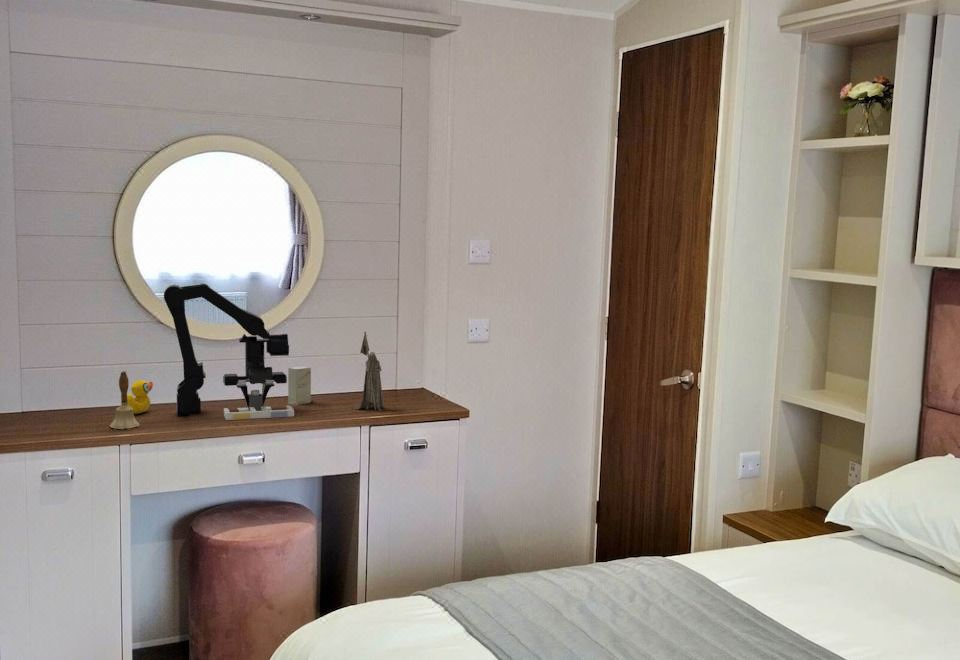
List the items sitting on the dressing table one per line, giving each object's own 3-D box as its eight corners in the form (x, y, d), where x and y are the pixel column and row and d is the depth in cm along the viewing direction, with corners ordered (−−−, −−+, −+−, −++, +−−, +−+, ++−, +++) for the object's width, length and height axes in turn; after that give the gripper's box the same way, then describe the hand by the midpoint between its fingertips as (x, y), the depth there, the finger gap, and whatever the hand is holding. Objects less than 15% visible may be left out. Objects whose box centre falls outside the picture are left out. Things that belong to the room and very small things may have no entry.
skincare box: (296, 406, 303) (296, 369, 301) (287, 404, 305) (287, 367, 304) (311, 404, 308) (311, 367, 306) (302, 402, 310) (302, 365, 309)
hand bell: (145, 426, 271) (144, 371, 269) (118, 431, 265) (116, 375, 263) (131, 422, 276) (129, 368, 274) (103, 426, 270) (102, 371, 268)
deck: (240, 414, 289) (240, 412, 289) (237, 410, 296) (237, 408, 296) (273, 412, 293) (273, 410, 293) (270, 408, 299) (270, 406, 299)
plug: (249, 411, 292) (249, 392, 291) (247, 408, 295) (247, 389, 295) (262, 410, 293) (262, 391, 292) (261, 408, 297) (260, 389, 296)
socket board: (227, 424, 276) (227, 415, 276) (223, 416, 286) (223, 408, 286) (295, 420, 283) (295, 412, 283) (290, 413, 293) (290, 405, 293)
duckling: (145, 408, 295) (144, 377, 294) (159, 410, 293) (158, 378, 292) (118, 415, 285) (117, 382, 283) (132, 417, 282) (132, 384, 281)
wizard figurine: (358, 413, 295) (358, 333, 292) (350, 407, 303) (350, 330, 300) (389, 410, 300) (390, 332, 297) (380, 405, 307) (381, 329, 304)
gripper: (226, 361, 281) (226, 412, 283) (289, 359, 288) (289, 409, 290) (222, 355, 292) (223, 405, 294) (283, 354, 298) (284, 402, 300)
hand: (255, 406), depth 294 cm, fingers closed on plug, 4 cm apart
